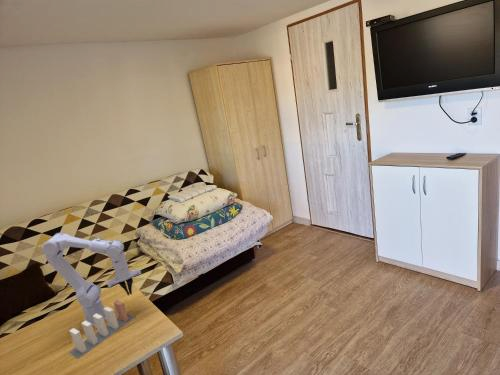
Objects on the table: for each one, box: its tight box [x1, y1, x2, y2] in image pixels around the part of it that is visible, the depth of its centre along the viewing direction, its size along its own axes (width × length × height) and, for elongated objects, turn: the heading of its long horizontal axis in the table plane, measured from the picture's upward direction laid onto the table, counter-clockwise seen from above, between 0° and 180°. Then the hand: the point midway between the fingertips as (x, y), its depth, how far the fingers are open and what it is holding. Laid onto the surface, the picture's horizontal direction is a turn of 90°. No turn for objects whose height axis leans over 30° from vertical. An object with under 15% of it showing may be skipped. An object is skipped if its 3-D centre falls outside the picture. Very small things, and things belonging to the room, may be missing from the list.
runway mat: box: [68, 313, 136, 360], centre depth 146 cm, size 8×27×1 cm, turn 143°
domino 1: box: [69, 327, 86, 353], centre depth 138 cm, size 5×2×9 cm, turn 53°
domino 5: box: [113, 299, 129, 322], centre depth 153 cm, size 5×2×9 cm, turn 52°
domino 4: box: [103, 306, 119, 329], centre depth 149 cm, size 5×2×9 cm, turn 53°
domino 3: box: [93, 313, 109, 337], centre depth 145 cm, size 5×2×9 cm, turn 53°
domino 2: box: [80, 320, 98, 345], centre depth 141 cm, size 5×2×9 cm, turn 53°
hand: (129, 293), depth 156 cm, fingers closed
